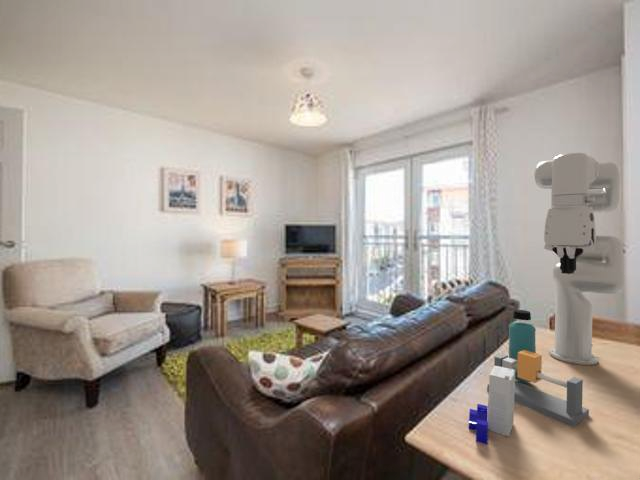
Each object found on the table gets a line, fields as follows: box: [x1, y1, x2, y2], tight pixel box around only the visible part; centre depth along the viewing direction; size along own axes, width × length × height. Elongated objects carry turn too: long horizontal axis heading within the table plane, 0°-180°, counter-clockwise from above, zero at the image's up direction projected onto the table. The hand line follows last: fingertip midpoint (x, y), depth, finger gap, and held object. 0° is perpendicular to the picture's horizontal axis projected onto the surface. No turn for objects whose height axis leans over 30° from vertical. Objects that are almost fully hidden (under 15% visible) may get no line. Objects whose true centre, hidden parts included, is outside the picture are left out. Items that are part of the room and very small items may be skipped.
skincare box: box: [487, 366, 516, 437], centre depth 70 cm, size 6×4×12 cm
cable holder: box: [468, 403, 489, 445], centre depth 69 cm, size 8×4×4 cm, turn 153°
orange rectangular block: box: [517, 350, 543, 384], centre depth 81 cm, size 3×4×6 cm
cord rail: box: [487, 353, 590, 428], centre depth 80 cm, size 8×19×9 cm, turn 32°
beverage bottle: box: [507, 309, 537, 383], centre depth 90 cm, size 6×7×20 cm
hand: (567, 273), depth 85 cm, fingers closed
